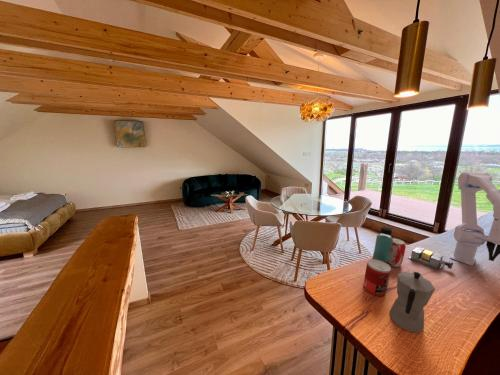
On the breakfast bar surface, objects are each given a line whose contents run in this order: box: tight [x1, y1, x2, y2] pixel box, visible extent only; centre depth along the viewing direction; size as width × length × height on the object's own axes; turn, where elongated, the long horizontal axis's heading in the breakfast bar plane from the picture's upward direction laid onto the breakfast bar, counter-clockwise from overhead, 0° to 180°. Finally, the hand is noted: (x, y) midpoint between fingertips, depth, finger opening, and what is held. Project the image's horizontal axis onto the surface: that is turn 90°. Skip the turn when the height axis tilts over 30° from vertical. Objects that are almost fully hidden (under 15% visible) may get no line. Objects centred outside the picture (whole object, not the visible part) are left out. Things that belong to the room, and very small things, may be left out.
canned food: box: [363, 259, 392, 297], centre depth 82 cm, size 8×8×11 cm
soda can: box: [388, 237, 406, 268], centre depth 99 cm, size 7×7×12 cm
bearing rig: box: [408, 245, 444, 271], centre depth 103 cm, size 12×8×5 cm, turn 37°
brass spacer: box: [421, 249, 434, 262], centre depth 103 cm, size 3×5×5 cm, turn 127°
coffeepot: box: [389, 271, 436, 334], centre depth 66 cm, size 15×9×18 cm, turn 137°
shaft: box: [420, 253, 454, 270], centre depth 101 cm, size 14×3×3 cm, turn 37°
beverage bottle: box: [372, 226, 393, 264], centre depth 94 cm, size 6×7×20 cm
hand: (491, 259), depth 89 cm, fingers closed
